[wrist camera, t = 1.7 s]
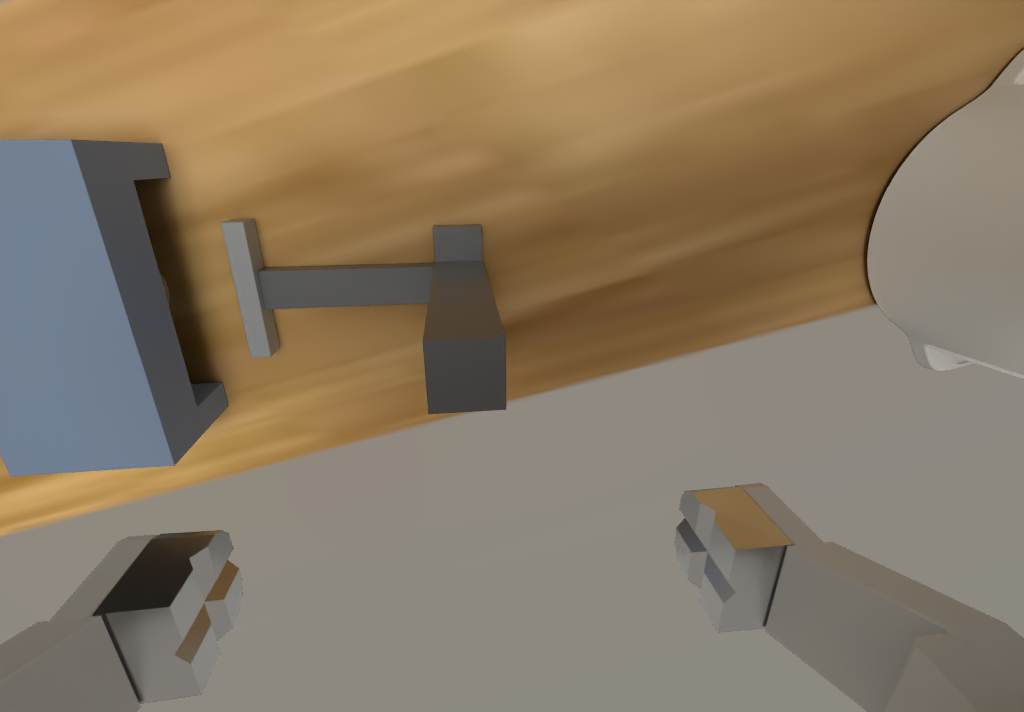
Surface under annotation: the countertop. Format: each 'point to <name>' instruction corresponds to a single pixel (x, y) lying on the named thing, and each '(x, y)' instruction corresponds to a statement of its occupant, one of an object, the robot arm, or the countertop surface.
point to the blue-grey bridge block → (88, 316)
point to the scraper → (444, 285)
